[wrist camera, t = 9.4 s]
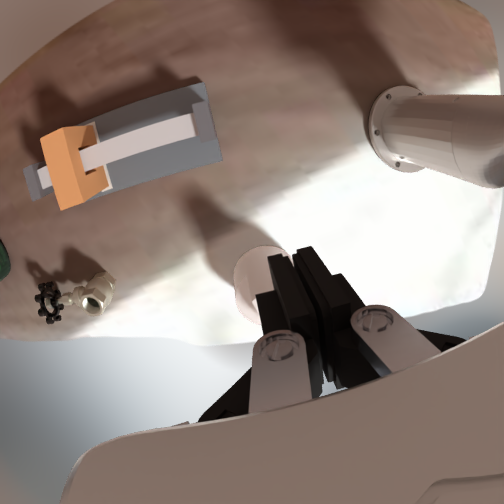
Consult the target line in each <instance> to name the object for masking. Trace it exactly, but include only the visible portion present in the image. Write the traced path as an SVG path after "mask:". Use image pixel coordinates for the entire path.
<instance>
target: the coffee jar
mask: <svg viewBox="0 0 504 504" xmlns="http://www.w3.org/2000/svg"><path fill="white" fill-rule="evenodd" d="M9 272H10V261H9V257H8V254H7V252H6V249H5V248H4V246H3V244H2V243H1V241H0V281H1V280H2V279H4V278H5V277H6V276H7V275H8V274H9Z"/></svg>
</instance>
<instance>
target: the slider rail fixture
mask: <svg viewBox="0 0 504 504" xmlns="http://www.w3.org/2000/svg"><path fill="white" fill-rule="evenodd" d="M88 125H93V129H94V133H95V137H96V141H97V144H95V145H93V146H90V147H88V148H85V149H83V150H81V151H79V153H80V157H81V160H82V164H83V167H84V171H85V172H86V171H89V170H91V169H94V168H97V167H99V166H102V165H103V167H104V170H105V174H106V177H107V180H108V184H109V186H108V187H107V188H105V189H104V190H102V191H100V192H99V193H97V194H96V195H94V196H93V197H91V198H89V199H88V200H86V201H89V200H92V199H94V198H97V197H100V196H103V195H106V194H109V193H112V192H115V191H118V190H121V189H124V188H127V187H131V186H134V185H137V184H140V183H143V182H147V181H150V180H153V179H157V178H160V177H164V176H167V175H171V174H174V173H178V172H182V171H185V170H189V169H193V168H196V167H200V166H204V165H208V164H212V163H216V162H220V161H223V159H222V155H221V151H220V147H219V142H218V138H217V134H216V130H215V125H214V121H213V117H212V113H211V109H210V104H209V100H208V96H207V92H206V87H205V83H204V82H202V83H198V84H194V85H190V86H186V87H183V88H179V89H176V90H172V91H169V92H165V93H162V94H159V95H155V96H152V97H149V98H146V99H143V100H140V101H137V102H134V103H131V104H129V105H126V106H123V107H120V108H118V109H115V110H112V111H110V112H107V113H104V114H102V115H99V116H97V117H94V118H92V119H90V120H87V121H85V122H83V123H80V124H78V125H76V126H88ZM23 172H24V176H25V179H26V183H27V186H28V189H29V192H30V196H31V199H32V202H33V201H35V200H37V199H40V198H42V197H44V196H46V195H48V194H50V193H52V192H54V188H53V185H52V181H51V178H50V175H49V171H48V168H47V164H46V161H42V162H39V163H36V164H32V165H30V166H28V167H26V168H24V169H23ZM86 201H85V202H86ZM69 208H70V207H69Z"/></svg>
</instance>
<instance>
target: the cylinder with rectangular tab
mask: <svg viewBox="0 0 504 504" xmlns="http://www.w3.org/2000/svg"><path fill="white" fill-rule="evenodd" d="M280 253H282V255H283V257H284V256H289V258H290V260H291V262H292V264H293V259H292V258H291V256H290V255H289V254H288V253H287V252H286V251H284V250H282V249H280V248H278V247H274V246H259V247H256V248H253V249H251V250H249V251H248V252H246V253H245V254H244V255H243V256H242V257H241V258H240V259H239V260H238V262H237V264H236V265H235V269H234V273H233V275H234V287H235V297H236V304H237V307H238V309H239V311H240V313H241V314H242V315H243V316H244V317H245V318H246V319H247V320H249V321H250V322H253V323H255V324H258V325H261V320H260V316H259V311H258V306H257V301H256V297H255V294H260V293H264V292H268V291H272V290H274V288H273V283H272V278H271V273H270V269H269V264H268V259H267V256H272V255H276V254H280ZM293 266H294V264H293Z"/></svg>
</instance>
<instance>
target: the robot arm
mask: <svg viewBox="0 0 504 504" xmlns="http://www.w3.org/2000/svg"><path fill="white" fill-rule="evenodd" d="M386 96H387V98H386ZM368 127H369V136H370V139H371V143H372V145H373V147H374V150H375V152H376V153H377V155H378V156H379V158H380V159H381V160H382V161H383V162H384V163H385V164H387V165H388V166H389V167H391V168H393V169H395V170H398V171H401V172H407V173H412V172H417V171H420V170H422V169H424V168H429V169H432V170H435V171H438V172H441V173H444V174H447V175H450V176H453V177H456V178H459V179H462V180H464V181H467V182H470V183H473V184H476V185H479V186H481V187H485V188H492V189H495V188H501V187H504V95H425V94H424V93H423V92H421V91H420V90H418V89H416V88H413V87H410V86H396V87H392V88H389V89H387V90H385V91H384V92H382V93H381V94H380V95H379V96H378V97H377V99H376V100H375V102H374V104H373V106H372V108H371V111H370V115H369V125H368ZM374 131H375V134H374ZM395 163H396V165H395ZM267 259H268V264H269V269H270V273H271V278H272V283H273V288H274V290H272V291H268V292H264V293H260V294H255V297H256V301H257V306H258V311H259V316H260V320H261V325H262V330H263V335H264V336H262V337H261V338H260V339H258V341H257V342H256V343H255V345H254V348H253V357H252V367H251V368H250V369H249V370H248V371H247V372H246V373H245V374H244V375H243V376H242V377H241V378H240V379H239V380H238V381H237V382H236V383H235V384H234V385H233V386H232V387H231V388H230V389H229V390H228V391H227V392H226V393H225V394H224V395H223V396H221V397H220V398H219V399H218V400H217V401H216V402H215V403H214V404H213V405H212V406H211V407H210V408H209V409H208V410H207V411H205V412H204V414H203V415H202V416H201V417H200V418H199V420H198V422H196V423H193V424H190V423H189V422H188V421H187V422H184V423H181V424H178V425H174V426H171V427H165V428H156V429H151V430H146V431H140V432H135V433H131V434H127V435H124V436H120V437H116V438H114V439H111V440H109V441H106V442H103V443H101V444H99V445H97V446H95V447H93V448H91V449H89V450H88V451H86V452H85V453H84V454H83V455H82V456H81V457H80V458H79V459H78V460H77V462H76V463H75V465H74V466H73V468H72V470H71V472H70V474H69V476H68V479H67V482H66V484H65V487H64V490H63V493H62V496H61V500H60V504H504V322H502V323H500V324H498V325H496V326H494V327H493V328H491V329H489V330H487V331H485V332H483V333H481V334H479V335H477V336H473V337H470V338H469V340H465V339H463V338H459V337H455V336H450V335H444V334H439V333H434V332H428V331H424V330H418V329H415V328H414V327H413V326H412V325H411V324H409V323H408V322H407V321H406V320H405V319H404V318H403V317H401V316H400V315H399V314H398V313H397V312H396V311H395V310H393V309H391V308H390V307H387V306H384V305H368V306H365V304H364V303H363V302H362V300H361V299H360V298H359V296H358V295H357V293H356V292H355V291H354V289H353V288H352V287H351V285H350V284H349V283H348V281H347V280H346V279H345V277H344V276H343V275H342V274H341V273H339V274H336V275H331V273H330V272H329V270H328V269H327V267H326V266H325V265H324V263H323V262H322V260H321V259H320V257H319V256H318V255H317V253H316V252H315V250H314V249H313V248H312V246H309V247H305V248H301V249H297V254H293V255H292V259H293V264H294V266H293V264H292V262H291V260H290V258H289V256H284V257H283V255H282V253H280V254H276V255H272V256H267ZM323 371H324V374H325V376H326V379H327V381H328V382H332V381H334V384H335V386H336V389H341V388H344V387H346V388H348V389H345V390H341V391H338V392H335V393H331V394H328V395H325V396H321V397H319V396H320V395H321V393H322V384H324V379H323Z"/></svg>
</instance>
